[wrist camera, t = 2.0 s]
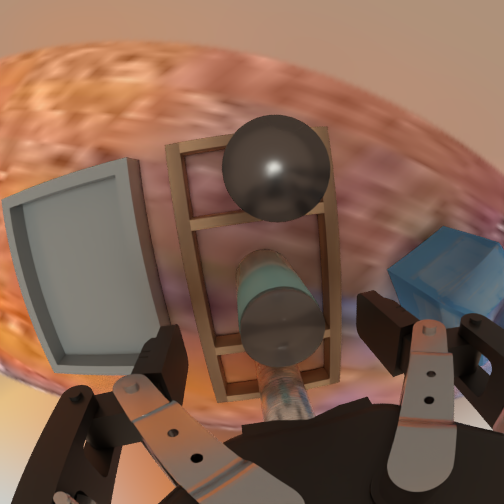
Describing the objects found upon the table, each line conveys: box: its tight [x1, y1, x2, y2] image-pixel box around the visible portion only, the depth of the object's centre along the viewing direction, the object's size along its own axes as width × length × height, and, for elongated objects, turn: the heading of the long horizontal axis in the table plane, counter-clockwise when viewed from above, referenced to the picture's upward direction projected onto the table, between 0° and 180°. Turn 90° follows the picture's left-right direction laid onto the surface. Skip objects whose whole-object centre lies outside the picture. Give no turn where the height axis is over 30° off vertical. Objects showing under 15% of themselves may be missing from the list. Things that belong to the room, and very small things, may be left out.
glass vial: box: [222, 115, 330, 222], centre depth 12 cm, size 3×3×10 cm
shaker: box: [236, 249, 325, 367], centre depth 15 cm, size 4×4×7 cm
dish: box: [2, 157, 171, 375], centre depth 16 cm, size 11×14×2 cm
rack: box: [165, 127, 341, 403], centre depth 17 cm, size 9×18×2 cm, turn 7°
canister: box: [255, 361, 316, 422], centre depth 15 cm, size 3×3×10 cm
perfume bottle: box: [387, 226, 504, 366], centre depth 13 cm, size 6×6×12 cm
